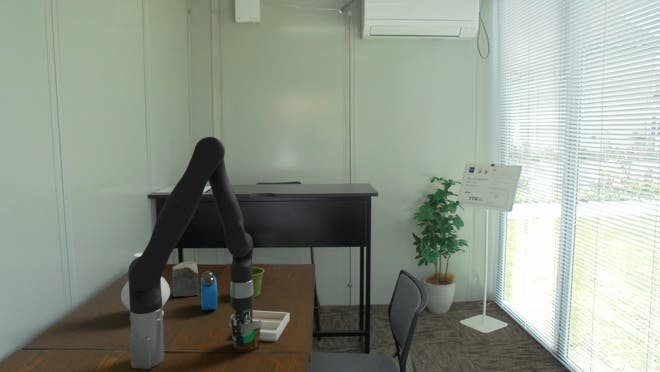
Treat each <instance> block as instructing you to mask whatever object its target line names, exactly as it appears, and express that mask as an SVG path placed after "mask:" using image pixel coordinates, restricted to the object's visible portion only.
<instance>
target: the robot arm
mask: <svg viewBox="0 0 660 372" xmlns="http://www.w3.org/2000/svg"><path fill="white" fill-rule="evenodd" d="M225 154H226V149H225V146H224V144H223V142H222V141H221V140H220V139H218V138H217V137H214V136H205V137H203V138H201V139H200V140H199V141H198V142H197V143H196V144H195V146H194V150H193V153H192V155H191V158H190V160H189V162H188V165H187V167H186V169H185V171H184V173H183V175H182V176H181V178H179V181H178V182H177V183H176V184H175V186H174V187H173V189H172V190H171V192H170V194H169V195H168V196H167V198H166V200H165V201H164V204H163V206H162V208H161V209H160V212H159V213H158V216H157V219H156V222H155V224H154V227H153V229H152V233H151V237H150V239H149V242H148V243H147V245H146V246H145V247H146V248H145V249H144V250H143V251H142V252H143V254H142V255H141V256H140V257H137V258H134V259H133V260H132V261H131V263H130V264H129V267H128V270H127V271H128V273H127V274H128V280H129V301H130V310H129V314H130V316H129V321H130V338H129V351H130V352H129V354H130V355H129V356H130V368H134V369H143V370H151V368H153V367H157V366H158V365H160V364H162V362H163V361H164V360H165V348H164V347H165V346H164V324H163V323H164V320H163V319H164V318H163V316H162V310H163V307H162V294H161V277H163V274H164V272H165V268H166V266H167V264H168V261H169V259H170V257H171V255H172V252H173V251H174V249H175V247H176V246H177V244H178V243H179V241H180V239H181V238H182V236H183V235H184V233H185V231H186V229H187V227H188V226H189V225H190V222H191V220H192V219H193V217H194V215H195V212H196V211H197V208H198V206H199V204H200V201H201V199H202V196H203V193H204V191H205V187H206V185H207V184H208V183H209V186H210V189H211V193H212V196H213V200H214V204H215V207H216V211H217V213H218V216H219V219H220V222H221V225H222V228H223V234H224V241H225V244H226V245H225V246H226V248H227V251H228V252H229V254H230V255H232V262H231V265H230V273H229V274H230V287H229V289H230V290H229V292H230V294H229V295H230V296H229V297H230V308H231V309H232V310H233V311H235V313H234V315H235V319H232V321H231V323H232V331H231V334H232V333H233V336H236V346H237V347H242V346H243V330H241V326H240V324H246V321H247V319H250V320H252V316H253V310H254V309H253V308H254V305H255V302H254V301H255V300H254V299H255V297H254V293H253V281H252V268H253V267H252V265H253V256H254V255H253V254H254V253H253V251H254V241H253V238H252V236H251V234H249V233H248V232H246V231H245V227H244V216H243V213H242V210H241V207H240V204H239V202H238V201H239V200H238V198H237V195H236V194H235V191H234V189H233V187H232V184H231V182H230V179H229V176H228V173H227V169H226V164H225Z"/></svg>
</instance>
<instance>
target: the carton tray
mask: <svg viewBox="0 0 660 372" xmlns="http://www.w3.org/2000/svg"><path fill="white" fill-rule="evenodd" d="M290 315H291V313H290V312H285V311H283V312H282V311H270V310H267V311H266V310H254V309H253V316H252V321H256V322H257V321H259V320H261V322H262V326H261V327H260V341H261V342H262V341H264V342H277V341H278V340H279V338H280V337H281V335H282V334H283V332H284V329H285V328H286V327H287V325H288V324H289V322H290V318H291V317H290Z"/></svg>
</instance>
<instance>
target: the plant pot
mask: <svg viewBox="0 0 660 372" xmlns="http://www.w3.org/2000/svg"><path fill="white" fill-rule="evenodd" d="M264 272H265V269H263V268H262V267H261V268H260V267H252V281H253V293H254V298H257V297H259V296H260V295H261V287H262V281H263V277H264Z"/></svg>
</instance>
